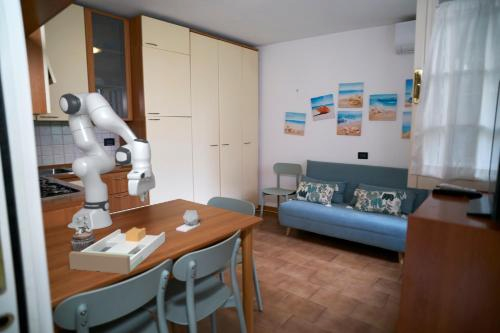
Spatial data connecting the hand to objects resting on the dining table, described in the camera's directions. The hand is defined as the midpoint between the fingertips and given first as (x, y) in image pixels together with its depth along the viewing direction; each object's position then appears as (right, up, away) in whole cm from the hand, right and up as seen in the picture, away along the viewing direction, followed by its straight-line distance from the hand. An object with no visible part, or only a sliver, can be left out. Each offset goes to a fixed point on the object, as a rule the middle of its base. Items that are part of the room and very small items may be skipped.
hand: (143, 200), depth 154 cm
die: (+19, -16, +23) cm, 34 cm away
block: (-2, -17, -7) cm, 18 cm away
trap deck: (-3, -21, -17) cm, 27 cm away
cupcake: (-23, -21, -12) cm, 33 cm away
